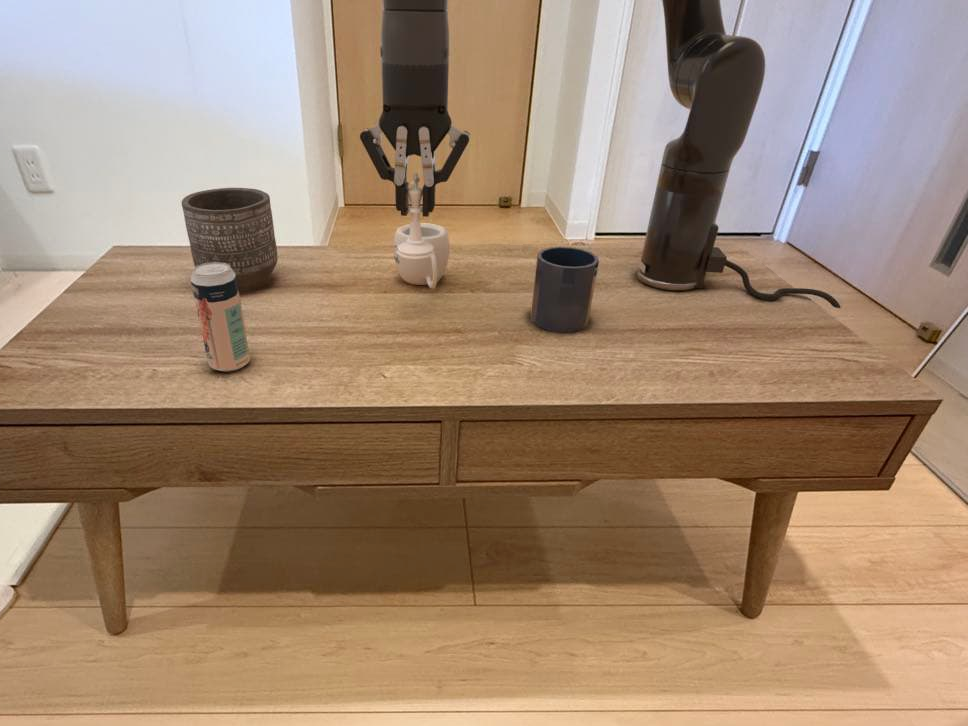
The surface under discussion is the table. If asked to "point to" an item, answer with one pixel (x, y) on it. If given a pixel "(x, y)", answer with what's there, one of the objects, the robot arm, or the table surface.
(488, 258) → the table surface
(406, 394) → the table surface
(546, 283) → the slate cup
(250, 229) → the planter
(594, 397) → the table surface
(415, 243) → the chess piece
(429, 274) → the mug
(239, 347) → the beer can
